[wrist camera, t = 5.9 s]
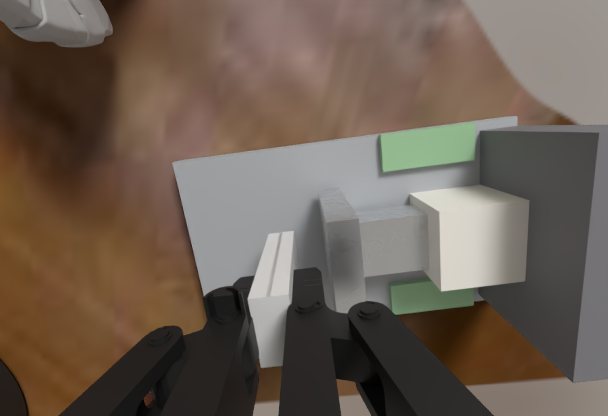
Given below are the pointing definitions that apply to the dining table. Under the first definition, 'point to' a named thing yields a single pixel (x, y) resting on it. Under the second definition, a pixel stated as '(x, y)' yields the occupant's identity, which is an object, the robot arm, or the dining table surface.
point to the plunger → (369, 245)
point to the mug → (57, 21)
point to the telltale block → (474, 236)
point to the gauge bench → (395, 192)
